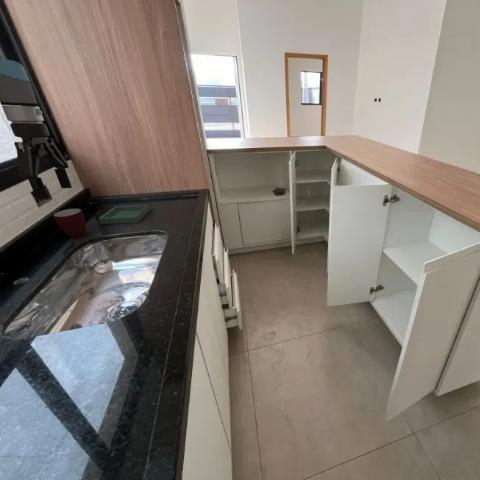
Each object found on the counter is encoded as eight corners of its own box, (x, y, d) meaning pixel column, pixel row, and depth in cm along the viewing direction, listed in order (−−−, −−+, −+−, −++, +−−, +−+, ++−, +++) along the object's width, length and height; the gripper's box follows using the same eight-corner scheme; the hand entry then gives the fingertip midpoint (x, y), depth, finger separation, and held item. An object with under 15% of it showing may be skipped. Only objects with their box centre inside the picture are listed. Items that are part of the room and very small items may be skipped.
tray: (100, 224, 114) (98, 218, 113) (117, 211, 127) (115, 206, 125) (137, 222, 116) (135, 217, 115) (150, 210, 129) (148, 205, 128)
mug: (71, 230, 108) (60, 207, 103) (95, 227, 111) (86, 205, 106) (61, 242, 100) (49, 218, 95) (87, 238, 102) (77, 215, 98)
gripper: (14, 124, 68) (47, 203, 77) (65, 121, 89) (87, 183, 98) (-25, 123, 66) (14, 205, 75) (37, 120, 87) (62, 184, 96)
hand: (56, 193), depth 86 cm, fingers open, 13 cm apart
